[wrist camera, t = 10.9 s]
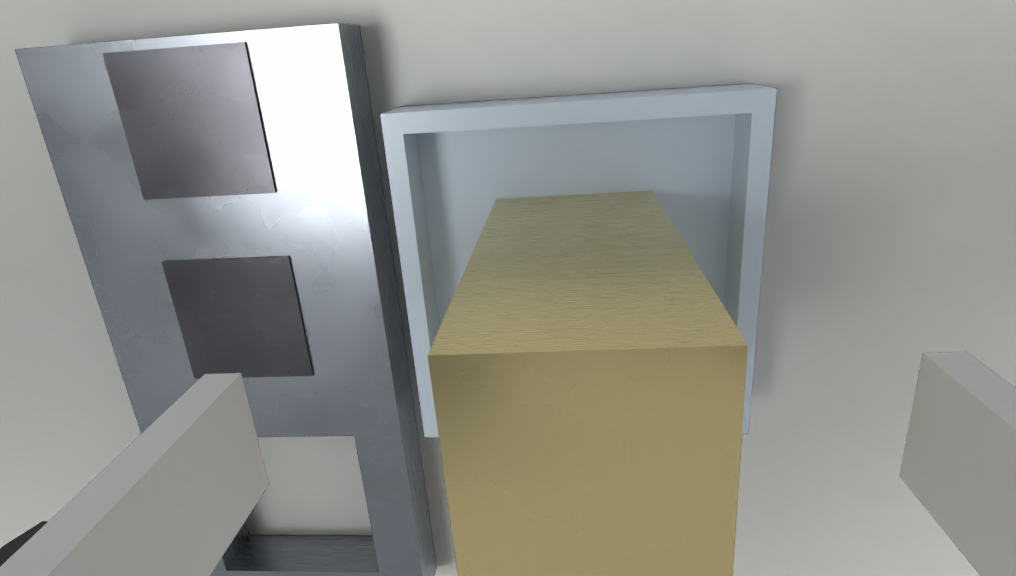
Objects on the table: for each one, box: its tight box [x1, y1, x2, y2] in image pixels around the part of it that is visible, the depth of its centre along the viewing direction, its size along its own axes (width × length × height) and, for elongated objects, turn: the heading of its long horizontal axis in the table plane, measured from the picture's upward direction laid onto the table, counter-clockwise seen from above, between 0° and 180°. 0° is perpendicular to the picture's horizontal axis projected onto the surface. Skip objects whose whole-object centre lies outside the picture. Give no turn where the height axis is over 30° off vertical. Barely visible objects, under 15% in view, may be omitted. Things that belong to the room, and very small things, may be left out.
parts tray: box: [380, 83, 777, 437], centre depth 20 cm, size 11×11×2 cm
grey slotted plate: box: [15, 23, 437, 576], centre depth 23 cm, size 10×22×2 cm, turn 4°
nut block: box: [427, 190, 748, 576], centre depth 16 cm, size 5×5×11 cm
